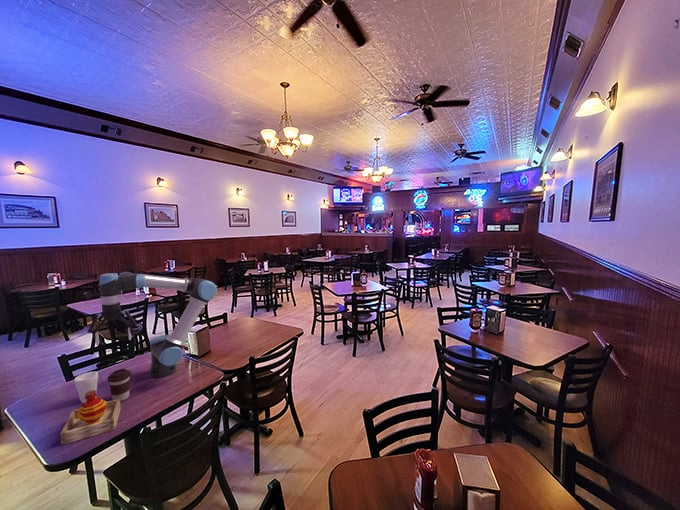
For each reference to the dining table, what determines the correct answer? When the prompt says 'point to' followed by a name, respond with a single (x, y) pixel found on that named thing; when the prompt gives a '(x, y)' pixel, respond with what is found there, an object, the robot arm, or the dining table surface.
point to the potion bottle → (92, 408)
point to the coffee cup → (119, 384)
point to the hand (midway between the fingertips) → (114, 341)
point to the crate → (79, 430)
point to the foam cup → (86, 384)
